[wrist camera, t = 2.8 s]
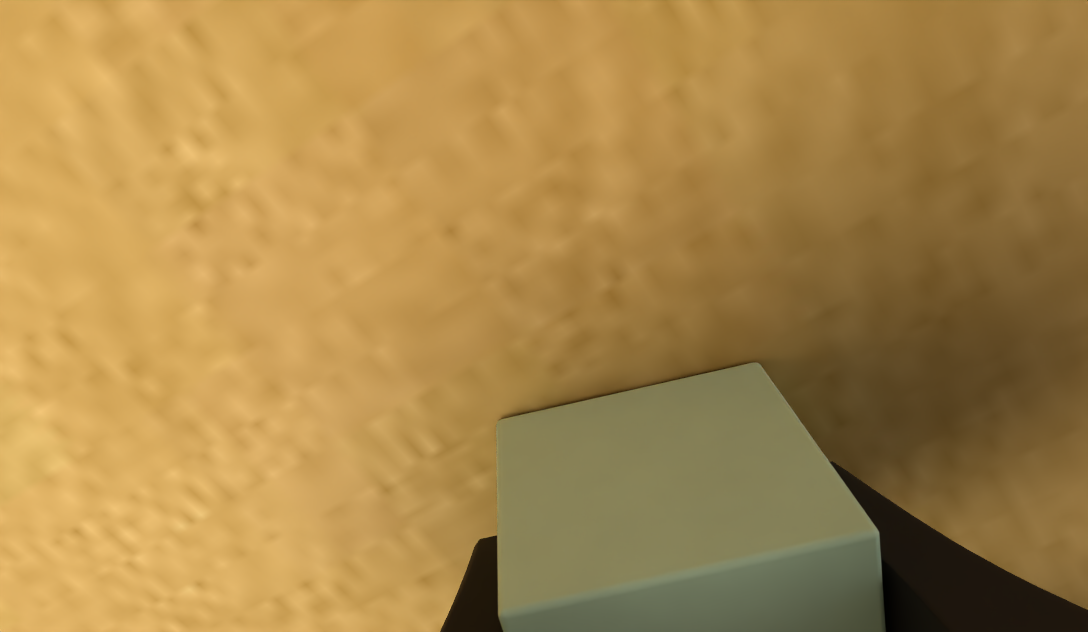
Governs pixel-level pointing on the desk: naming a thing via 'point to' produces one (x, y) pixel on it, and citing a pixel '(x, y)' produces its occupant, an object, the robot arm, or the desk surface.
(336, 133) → the desk surface
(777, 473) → the block
